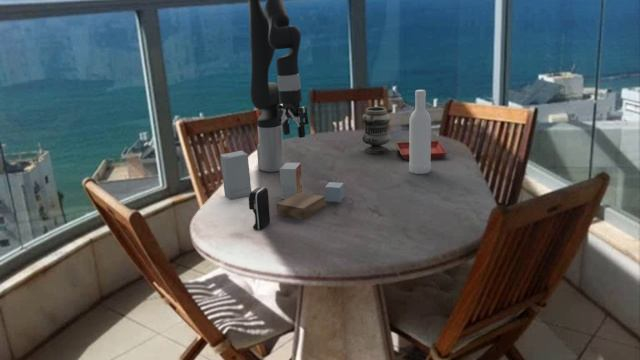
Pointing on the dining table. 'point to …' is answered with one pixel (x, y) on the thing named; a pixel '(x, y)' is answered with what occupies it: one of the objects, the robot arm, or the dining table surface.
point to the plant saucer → (436, 150)
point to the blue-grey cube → (334, 192)
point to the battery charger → (260, 207)
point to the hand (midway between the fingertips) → (294, 135)
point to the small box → (290, 179)
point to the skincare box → (235, 174)
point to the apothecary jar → (376, 129)
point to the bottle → (420, 136)
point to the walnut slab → (301, 205)
